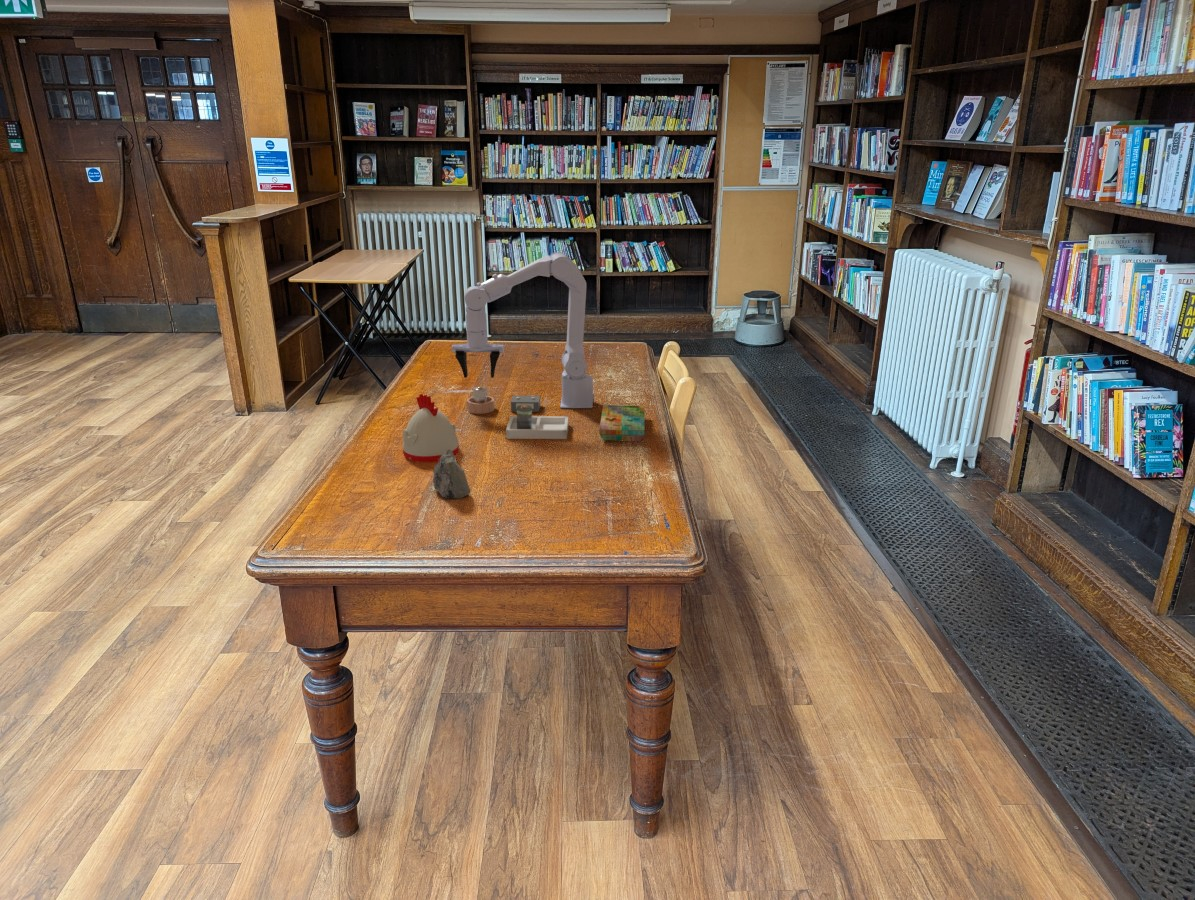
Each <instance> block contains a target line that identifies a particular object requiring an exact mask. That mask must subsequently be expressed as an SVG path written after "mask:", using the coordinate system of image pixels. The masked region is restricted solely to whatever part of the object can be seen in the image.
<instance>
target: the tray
mask: <svg viewBox="0 0 1195 900" xmlns="http://www.w3.org/2000/svg"><path fill="white" fill-rule="evenodd" d="M507 422H508V423H507V425H506V429H505V439H508V440H510V439H511V440H514V439H515V440H518V439H519V440H521V439H522V440H530V439H531V440H535V439H536V440H537V439H538V440H567V439H568V432H569V416H560V415H559V416H556V415H555V416H549V415H548V416H547V415H546V416H544V415H543V416H534V415H532V429H517V415H514V416H513V415H510V416H509V420H508V421H507Z"/></svg>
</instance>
